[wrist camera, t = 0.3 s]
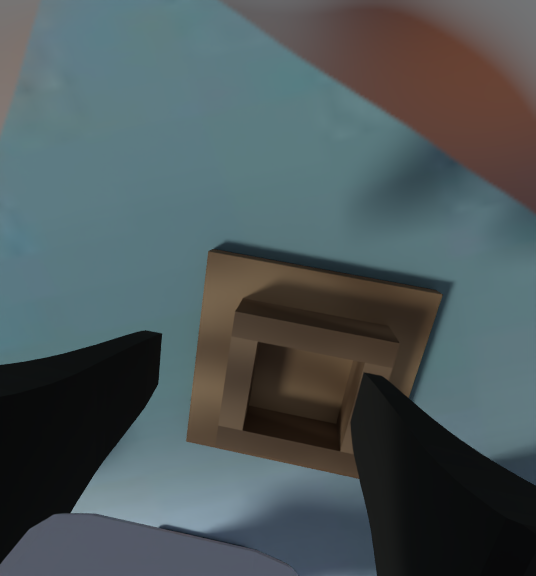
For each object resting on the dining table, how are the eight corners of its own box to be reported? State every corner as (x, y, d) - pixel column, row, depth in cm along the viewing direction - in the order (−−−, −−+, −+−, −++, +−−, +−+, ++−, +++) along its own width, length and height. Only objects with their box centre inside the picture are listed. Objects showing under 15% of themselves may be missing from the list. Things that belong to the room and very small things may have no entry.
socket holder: (377, 471, 24) (389, 516, 20) (190, 431, 25) (173, 468, 21) (436, 290, 20) (462, 308, 17) (212, 248, 21) (195, 258, 17)
